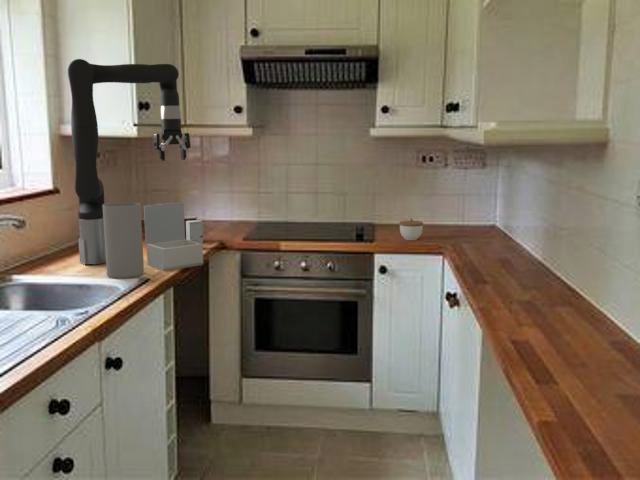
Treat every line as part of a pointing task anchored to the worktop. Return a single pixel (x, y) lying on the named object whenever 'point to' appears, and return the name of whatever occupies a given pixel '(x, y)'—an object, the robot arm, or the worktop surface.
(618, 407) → the worktop surface
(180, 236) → the grey plate
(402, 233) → the lidded jar
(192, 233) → the skincare box
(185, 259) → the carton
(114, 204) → the cylinder vase
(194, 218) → the plastic cup
